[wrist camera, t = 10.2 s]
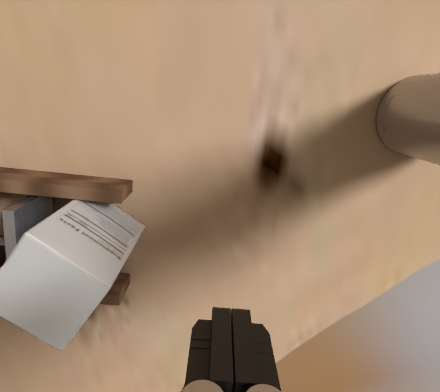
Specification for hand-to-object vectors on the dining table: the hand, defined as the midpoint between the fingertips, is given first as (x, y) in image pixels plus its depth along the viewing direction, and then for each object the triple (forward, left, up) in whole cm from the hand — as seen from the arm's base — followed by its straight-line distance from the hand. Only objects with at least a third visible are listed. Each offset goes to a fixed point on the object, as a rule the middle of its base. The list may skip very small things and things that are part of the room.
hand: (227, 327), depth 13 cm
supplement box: (+15, +10, -29) cm, 34 cm away
